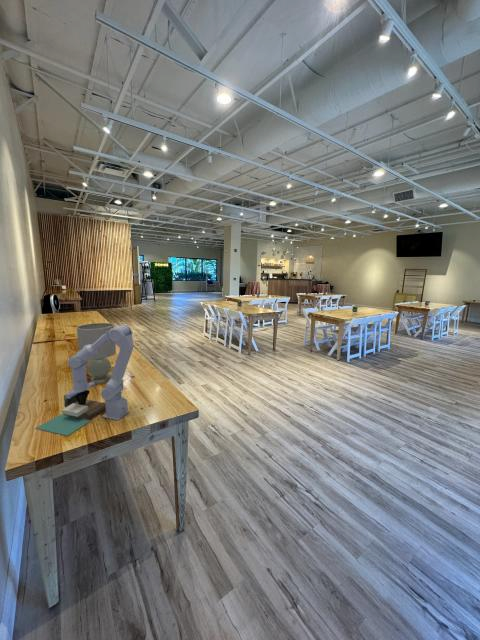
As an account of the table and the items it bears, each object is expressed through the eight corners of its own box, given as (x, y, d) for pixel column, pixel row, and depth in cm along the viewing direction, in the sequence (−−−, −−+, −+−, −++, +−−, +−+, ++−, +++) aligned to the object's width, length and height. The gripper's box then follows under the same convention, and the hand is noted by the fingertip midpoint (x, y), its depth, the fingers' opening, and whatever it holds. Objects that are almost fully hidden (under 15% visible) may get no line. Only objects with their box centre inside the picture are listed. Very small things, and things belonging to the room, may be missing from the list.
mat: (91, 421, 122) (90, 420, 122) (67, 436, 111) (67, 435, 111) (60, 414, 127) (60, 414, 127) (35, 428, 116) (35, 428, 116)
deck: (108, 408, 133) (107, 403, 133) (90, 420, 123) (89, 414, 122) (82, 404, 137) (82, 398, 137) (63, 414, 127) (62, 408, 127)
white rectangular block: (88, 409, 126) (87, 406, 125) (77, 416, 120) (77, 412, 120) (73, 407, 128) (73, 403, 128) (62, 413, 123) (61, 409, 122)
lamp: (105, 372, 181) (101, 321, 175) (124, 378, 171) (121, 324, 165) (75, 382, 164) (69, 326, 158) (94, 390, 154) (89, 330, 148)
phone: (64, 406, 134) (64, 394, 146) (65, 408, 134) (64, 396, 146) (82, 402, 138) (80, 391, 151) (83, 404, 138) (80, 393, 151)
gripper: (85, 372, 133) (88, 398, 136) (59, 384, 120) (62, 412, 122) (97, 374, 131) (99, 400, 134) (71, 386, 118) (74, 414, 120)
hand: (82, 405), depth 128 cm, fingers closed
